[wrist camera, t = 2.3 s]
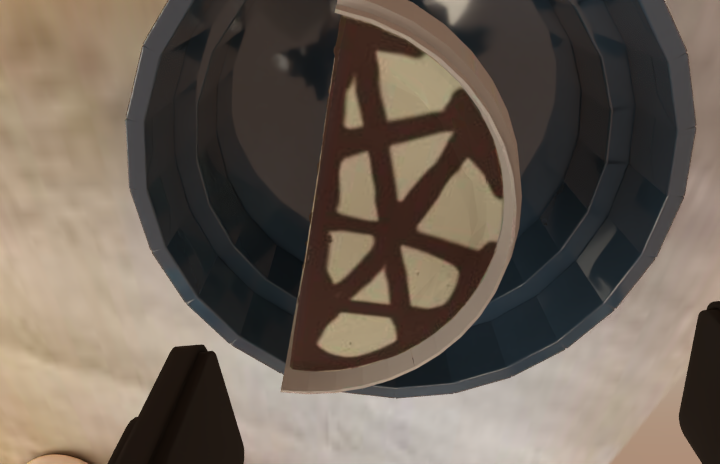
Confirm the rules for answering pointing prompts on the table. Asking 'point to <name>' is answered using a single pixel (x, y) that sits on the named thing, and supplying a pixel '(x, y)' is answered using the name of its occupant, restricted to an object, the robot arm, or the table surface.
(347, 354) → the food container
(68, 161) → the table surface
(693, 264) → the table surface
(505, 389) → the table surface
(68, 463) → the drinking glass
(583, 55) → the bowl
